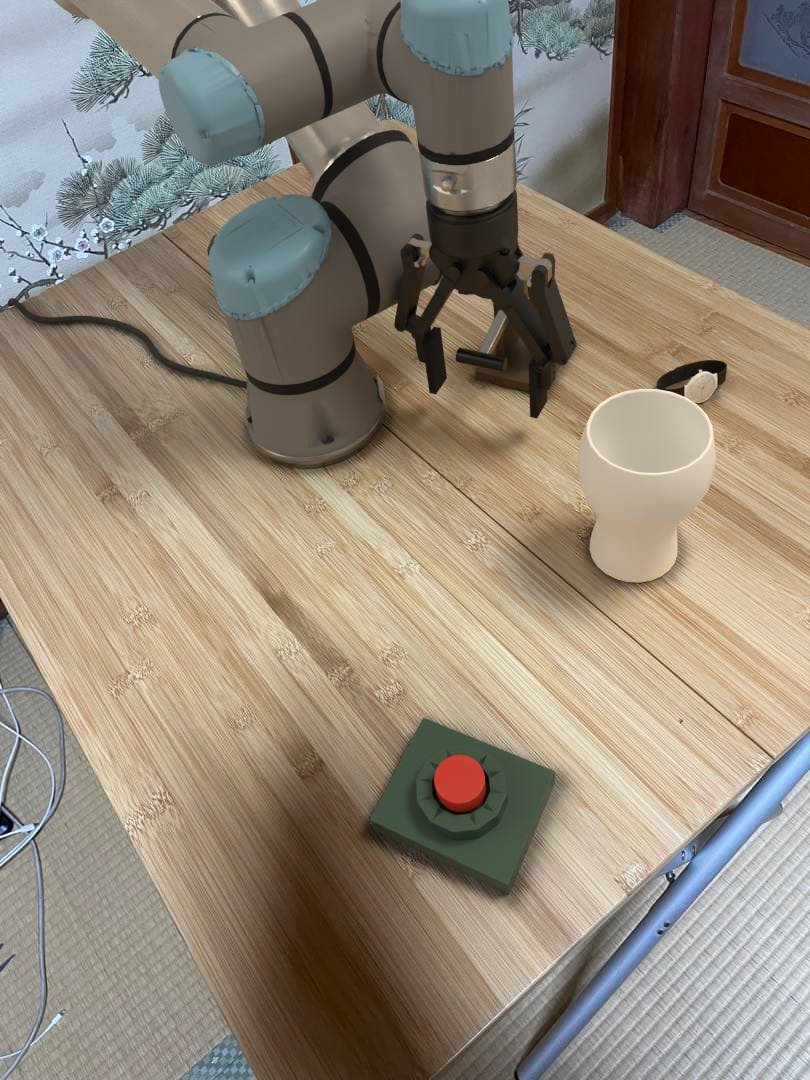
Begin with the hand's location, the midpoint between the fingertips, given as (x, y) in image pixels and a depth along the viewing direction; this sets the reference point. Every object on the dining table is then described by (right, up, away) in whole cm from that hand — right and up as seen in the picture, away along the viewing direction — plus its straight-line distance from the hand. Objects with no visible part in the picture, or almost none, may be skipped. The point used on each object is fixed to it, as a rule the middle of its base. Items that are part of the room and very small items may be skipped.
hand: (487, 397), depth 85 cm
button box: (-4, -35, -22) cm, 41 cm away
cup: (+12, -16, -9) cm, 22 cm away
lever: (+2, +7, -1) cm, 8 cm away
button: (-4, -33, -25) cm, 41 cm away
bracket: (+5, +5, +8) cm, 11 cm away
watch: (+21, +1, +2) cm, 22 cm away
